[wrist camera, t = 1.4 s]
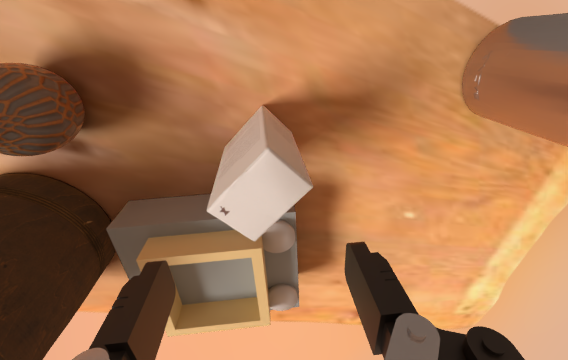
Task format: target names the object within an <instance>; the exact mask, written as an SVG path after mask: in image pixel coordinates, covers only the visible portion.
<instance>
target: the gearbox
mask: <svg viewBox="0 0 568 360" xmlns="http://www.w3.org/2000/svg"><path fill="white" fill-rule="evenodd" d="M210 196H211V194H203V195H191V196H179V197H167V198H156V199H144V200H132V201H128V203H127V204H126V205H125V206H124V207H123V209H122V210H121V211H120V212H119V214H118V215H117V216H116V217H115V219H114V220H113V221H112V222H111V224H110V225H109V226H108V227H107V228H106V230H107V232H108V234H109V236H110V239H111V241H112V243H113V245H114V247H115V250H116V252H117V254H118V256H119V258H120V261H121V263H122V265H123V267H124V269H125V272H126V274H127V276H128V278H129V280H130V279H131V278H132V277H133V276H137V275H140V273H141V271H142V269H143V267H144V265H145V264H146V263H147V262H153V261H163V260H166V261H167V263H168V265H169V268H170V271H171V274H172V277H173V280H174V283H175V287H176V294H175V300H174V303H173V306H172V309H171V312H170V315H169V318H168V321H167V324H166V327H165V330H166V333H167V335H168V337H169V336H178V335H187V334H197V333H205V332H215V331H224V330H233V329H242V328H250V327H260V326H269V325H271V323H270V310H277V311H284V310H288V309H291V308H292V307H299V288H298V261H297V234H296V211H295V206H294V205H293V206H292V207H291V208H290V209H289V210H288V211H287V212H286V213H285V214H284V215H283V216H282V217H281V218H280V219H279V220H278V221H277V222H275V223H274V224H273V225H272V226H271V227H270V228H269V229H268V230H267V231H266V232H265V233H264V234H263V235H261V236H260V237H259V238H258V239H257V240H256V241H253V240H251V239H249V238H247V237H246V236H244V235H243V234H241V233H240V232H238V231H237V230H235V229H233V228H232V227H230V226H229V225H227V224H226V223H224V222H223V221H221V220H220V219H218V218H216V217H215V216H213V215H212V214H210V213H208V212H207V207H208V203H209V199H210Z"/></svg>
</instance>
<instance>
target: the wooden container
mask: <svg viewBox="0 0 568 360" xmlns="http://www.w3.org/2000/svg"><path fill="white" fill-rule="evenodd" d="M110 224H111V221H110V220H109V218H108V216H107V215H106V214H105V212H104V211H103V210H102V208H101V207H100V206H99V205H98V204H97V203H96V202H94V201H93V200H92V199H91V198H89V197H88V196H87V195H85V194H84V193H82V192H81V191H79V190H77V189H76V188H74V187H72V186H70V185H68V184H65V183H63V182H61V181H58V180H55V179H52V178H49V177H45V176H41V175H36V174H23V173H13V174H4V175H0V360H43V358H44V357H45V355H46V354H47V352H48V351H49V349H50V348H51V347H52V345H53V344H54V342H55V341H56V340H57V338H58V337H59V336H60V334H61V333H62V331H63V330H64V329H65V327H66V326H67V325H68V323H69V322H70V320H71V319H72V317H73V316H74V315H75V313H76V312H77V310H78V309H79V308H80V306H81V305H82V303H83V302H84V300H85V299H86V297H87V296H88V294H89V293H90V291H91V290H92V288H93V286H94V285H95V283H96V282H97V280H98V279H99V277H100V276H101V274H102V273H103V271H104V270H105V268H106V267H107V265H108V263H109V262H110V260H111V259H112V257H113V255H114V253H115V247H114V245H113V243H112V241H111V239H110V236H109V234H108V232H107V230H106V228H107V227H108V226H109V225H110Z"/></svg>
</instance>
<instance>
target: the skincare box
mask: <svg viewBox="0 0 568 360" xmlns="http://www.w3.org/2000/svg"><path fill="white" fill-rule="evenodd" d="M312 188H313V184H312V182H311V179H310V177H309V174H308V172H307V169H306V166H305V164H304V162H303V159H302V157H301V154H300V152H299V149H298V147H297V144H296V142H295V139H294V137H293V134H292V132H291V131H290V130H289V129H288V128H287V127H286V126H285V125H284V124H283V123H282V122H281V121H280V120H278V119H277V118H276V117H275V116H274V115H273V114H272V113H271V112H270V111H269V110H268V109H267V108H266V107H265V106H263V105H262V106H261V107H260V108H259V109H258V110H257V111H256V112H255V114H254V115H253V116H252V117H251V118H250V119H249V120H248V121H247V123H246V124H245V125H244V126H243V127H242V128H241V129H240V130H239V131H238V132H237V134H236V135H235V136H234V137H233V138H232V139H231V140H230V141H229V143H228V144H227V145H226V146H225V148H224V151H223V155H222V158H221V162H220V165H219V169H218V172H217V176H216V179H215V182H214V186H213V189H212V193H211V196H210V199H209V203H208V207H207V212H208V213H210V214H212V215H213V216H215V217H216V218H218V219H220V220H221V221H223V222H224V223H226V224H227V225H229V226H230V227H232V228H233V229H235V230H237V231H238V232H240V233H241V234H243V235H244V236H246V237H247V238H249V239H251V240H253V241H256V240H257V239H258V238H259V237H260V236H261V235H263V234H264V233H265V232H266V231H267V230H268V229H269V228H270V227H271V226H272V225H273V224H274V223H275V222H277V221H278V220H279V219H280V218H281V217H282V216H283V215H284V214H285V213H286V212H287V211H288V210H289V209H290V208H291V207H292V206H293V205H295V204H296V203H297V202H298V201H299V200H300V199H301V198H302V197H303V196H304V195H305V194H306V193H307V192H309V191H310V190H311V189H312Z"/></svg>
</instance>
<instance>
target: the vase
mask: <svg viewBox="0 0 568 360" xmlns="http://www.w3.org/2000/svg"><path fill="white" fill-rule="evenodd" d="M84 117H85V111H84V106H83V103H82V100H81V98H80V96H79V95H78V93H77V92H76V90H75V89H74V88H73V87H72V86H71V85H70V84H69V83H68V82H67V81H66V80H65V79H63V78H62V77H60V76H59V75H57V74H55V73H53V72H51V71H49V70H46V69H44V68H41V67H37V66H33V65H28V64H22V63H1V64H0V153H1V154H5V155H12V156H33V155H39V154H44V153H48V152H51V151H54V150H56V149H58V148H60V147H62V146H64V145H66V144H67V143H68V142H70V141H71V140H72V139H73V138H74V137H75V136H76V135H77V134H78V133H79V131H80V129H81V127H82V125H83V122H84Z"/></svg>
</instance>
